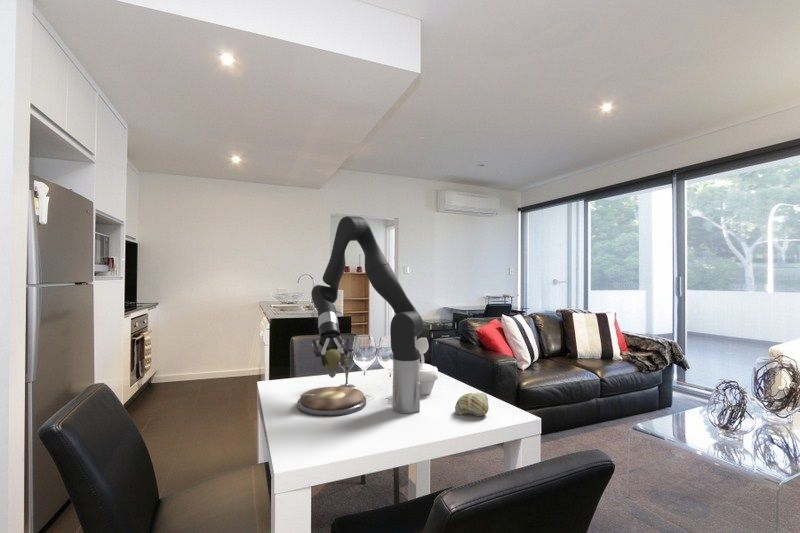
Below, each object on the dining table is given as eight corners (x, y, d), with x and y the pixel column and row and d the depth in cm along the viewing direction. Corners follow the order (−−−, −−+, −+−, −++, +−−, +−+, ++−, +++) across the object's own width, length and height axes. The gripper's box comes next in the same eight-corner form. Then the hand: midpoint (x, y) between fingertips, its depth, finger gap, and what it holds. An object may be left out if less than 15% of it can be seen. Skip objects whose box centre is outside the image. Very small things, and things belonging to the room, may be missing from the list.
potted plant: (436, 398, 143) (437, 331, 143) (405, 396, 145) (406, 330, 145) (438, 388, 155) (439, 327, 156) (410, 387, 157) (410, 326, 158)
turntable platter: (366, 390, 146) (366, 386, 146) (360, 410, 124) (360, 405, 124) (308, 390, 146) (308, 385, 146) (292, 409, 124) (292, 404, 124)
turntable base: (368, 394, 147) (368, 390, 147) (362, 416, 123) (362, 412, 123) (306, 393, 147) (306, 389, 147) (288, 416, 123) (288, 411, 123)
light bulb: (341, 375, 138) (341, 347, 138) (339, 379, 133) (339, 350, 133) (325, 375, 138) (326, 347, 138) (323, 379, 132) (323, 350, 133)
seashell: (447, 409, 128) (458, 381, 131) (469, 419, 132) (479, 391, 134) (465, 418, 119) (476, 387, 122) (487, 428, 123) (498, 398, 125)
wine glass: (335, 384, 159) (336, 348, 160) (354, 383, 162) (354, 347, 162) (338, 390, 152) (338, 352, 152) (358, 388, 154) (358, 351, 155)
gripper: (310, 320, 140) (313, 360, 129) (348, 320, 145) (355, 358, 134) (308, 333, 145) (311, 372, 134) (345, 331, 150) (351, 369, 139)
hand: (333, 365), depth 134 cm, fingers closed on light bulb, 5 cm apart
